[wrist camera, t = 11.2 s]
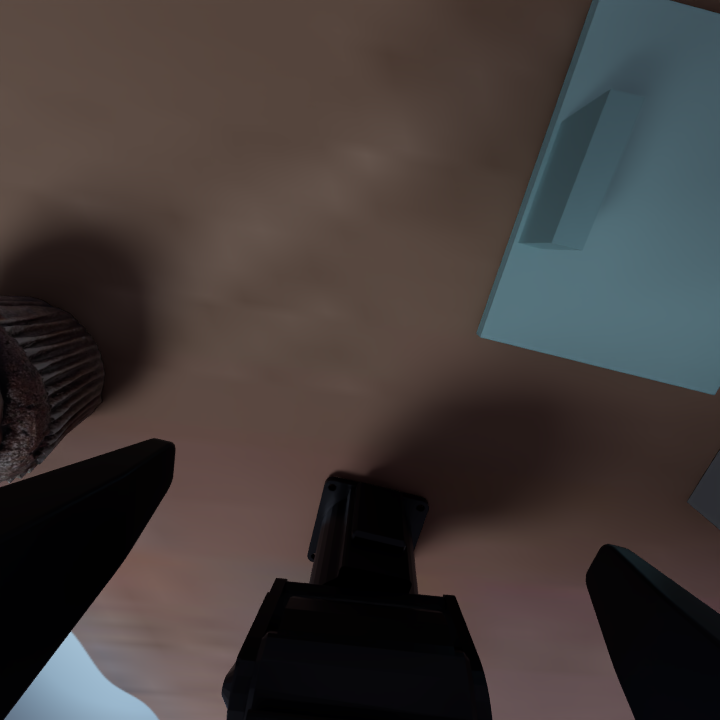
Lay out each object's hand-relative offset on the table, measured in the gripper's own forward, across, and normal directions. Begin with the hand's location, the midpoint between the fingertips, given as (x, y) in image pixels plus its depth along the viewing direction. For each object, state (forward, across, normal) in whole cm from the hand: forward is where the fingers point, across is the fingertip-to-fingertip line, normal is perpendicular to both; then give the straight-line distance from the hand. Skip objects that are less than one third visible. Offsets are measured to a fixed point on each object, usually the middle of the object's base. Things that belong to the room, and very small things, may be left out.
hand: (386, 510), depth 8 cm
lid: (+13, -11, -9) cm, 19 cm away
